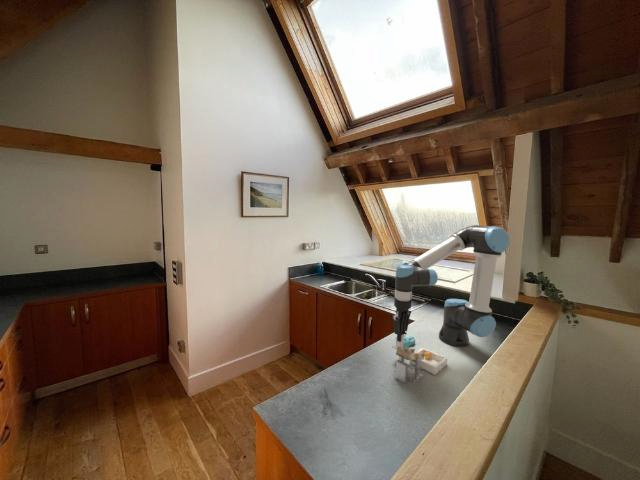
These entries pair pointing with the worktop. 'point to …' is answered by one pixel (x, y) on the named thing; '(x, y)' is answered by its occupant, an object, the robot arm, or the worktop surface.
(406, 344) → the toy
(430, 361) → the dish
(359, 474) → the worktop surface
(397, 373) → the fulcrum
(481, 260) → the robot arm
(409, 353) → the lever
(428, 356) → the ball
